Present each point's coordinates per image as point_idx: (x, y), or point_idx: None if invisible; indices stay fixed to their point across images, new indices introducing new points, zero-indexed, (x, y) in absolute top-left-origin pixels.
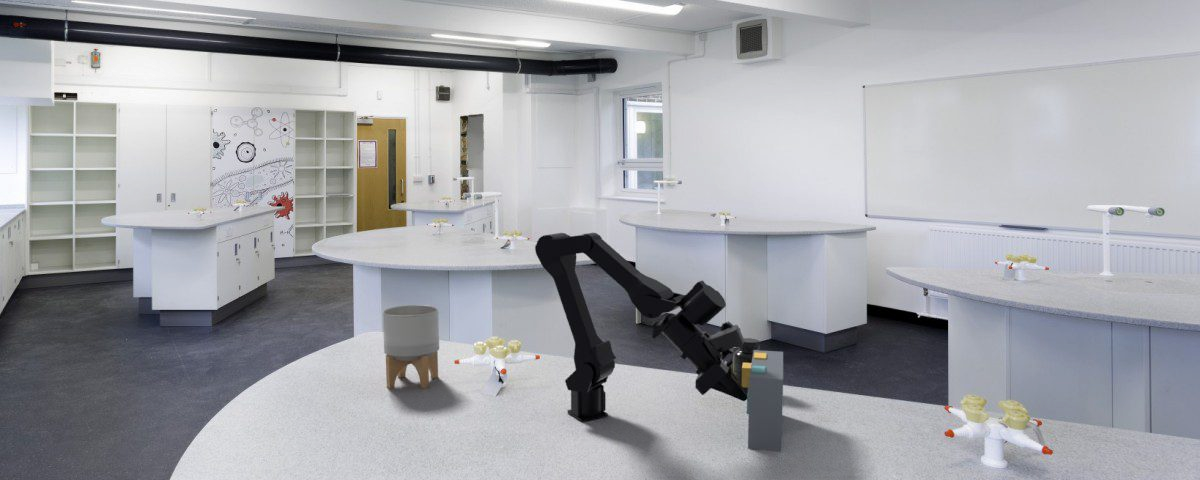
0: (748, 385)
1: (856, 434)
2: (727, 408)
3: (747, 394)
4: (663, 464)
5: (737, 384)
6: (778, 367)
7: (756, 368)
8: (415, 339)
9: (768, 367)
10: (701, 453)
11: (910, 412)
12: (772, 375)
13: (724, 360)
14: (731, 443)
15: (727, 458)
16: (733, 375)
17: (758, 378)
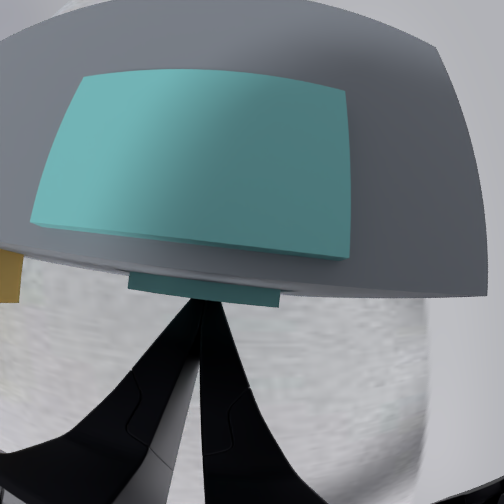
0: (15, 269)
1: None
2: (9, 323)
3: (276, 304)
4: (399, 465)
5: (250, 391)
6: (106, 15)
7: (168, 167)
8: None
9: (84, 67)
10: (346, 415)
11: (88, 5)
12: (376, 61)
13: (2, 498)
14: (267, 344)
15: (372, 350)
16: (155, 440)
17: (478, 204)
